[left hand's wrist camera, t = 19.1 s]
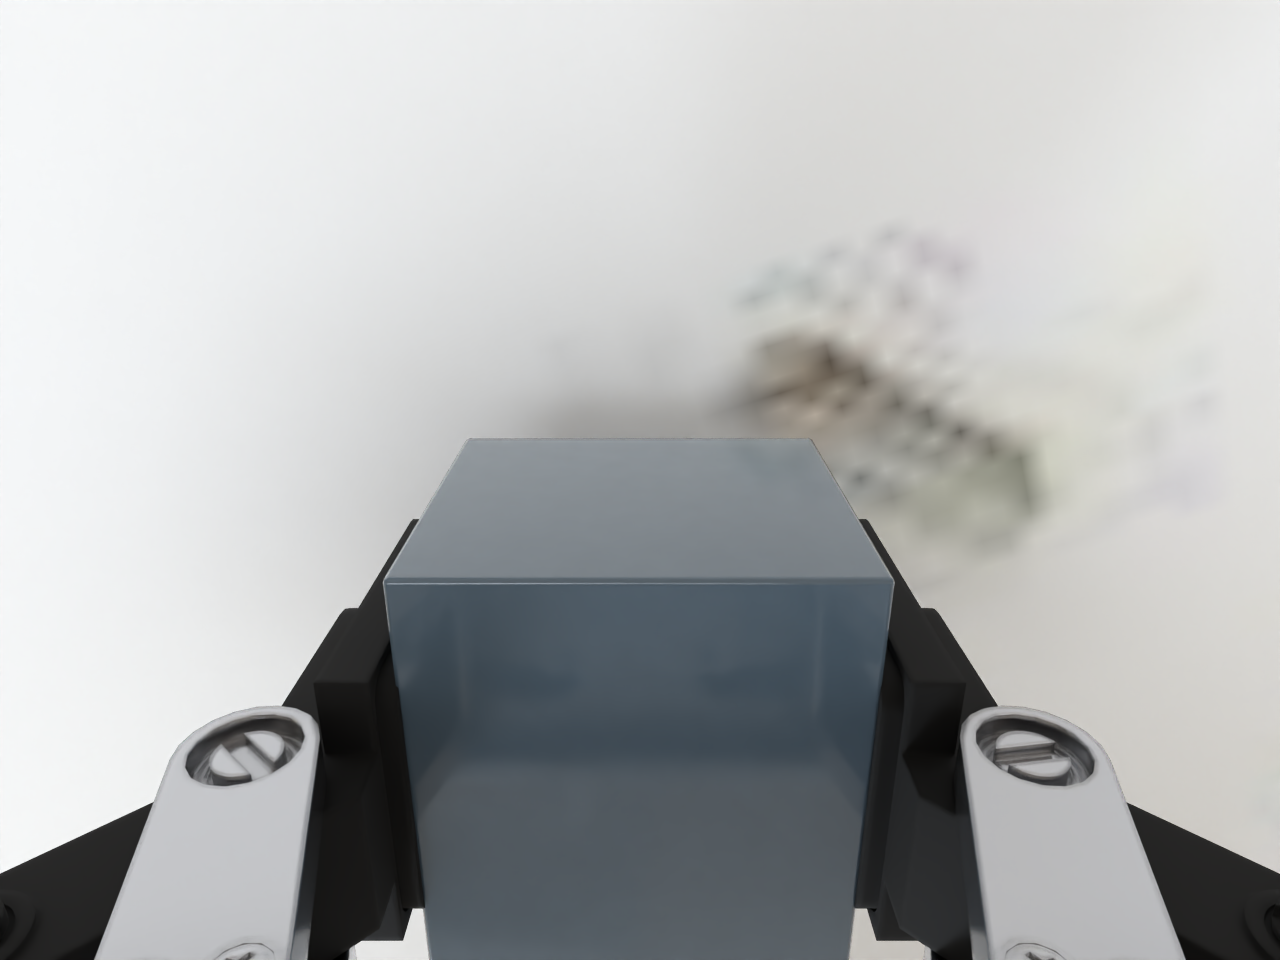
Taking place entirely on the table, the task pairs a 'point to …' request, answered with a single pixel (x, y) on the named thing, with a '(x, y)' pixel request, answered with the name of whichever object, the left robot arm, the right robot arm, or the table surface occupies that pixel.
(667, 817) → the block
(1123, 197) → the table surface
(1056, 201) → the table surface
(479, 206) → the table surface
